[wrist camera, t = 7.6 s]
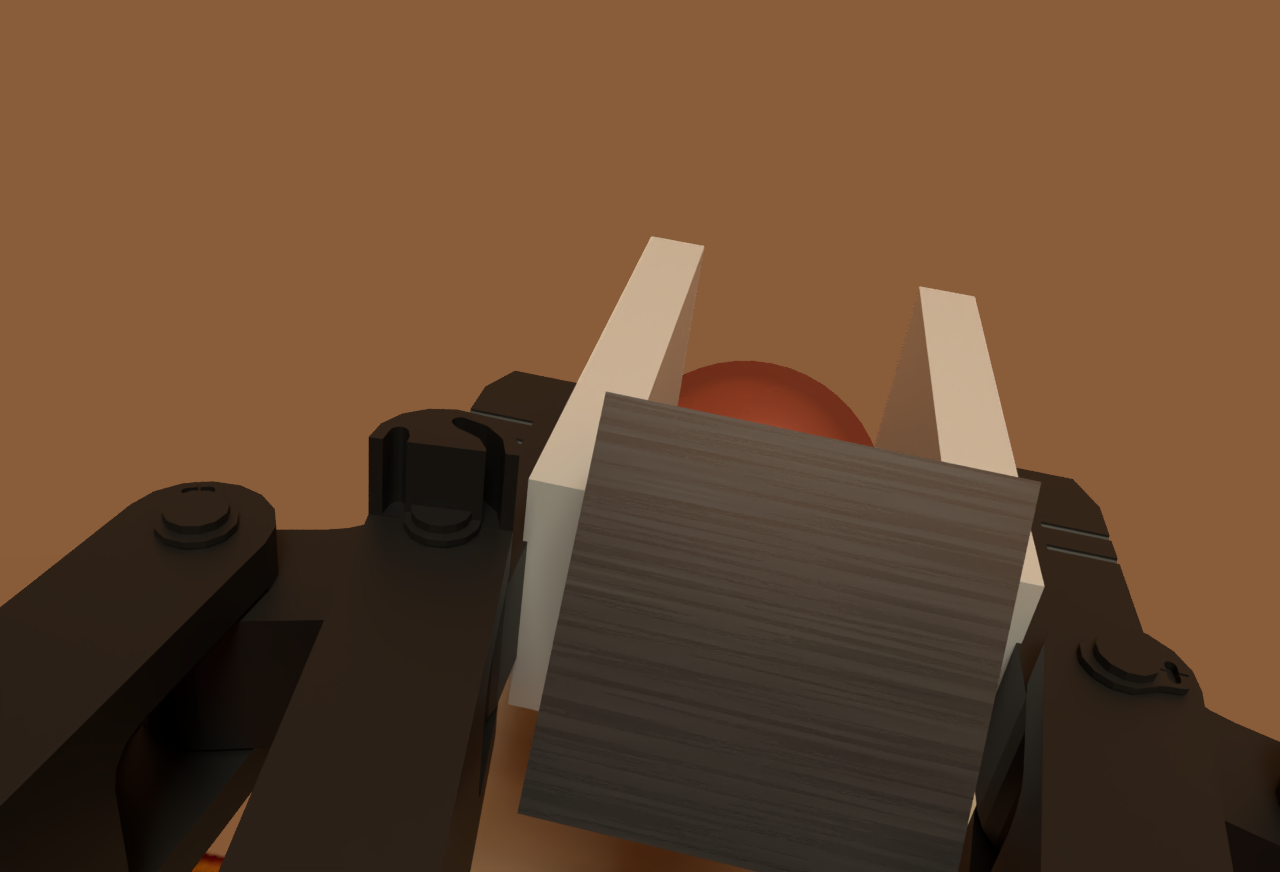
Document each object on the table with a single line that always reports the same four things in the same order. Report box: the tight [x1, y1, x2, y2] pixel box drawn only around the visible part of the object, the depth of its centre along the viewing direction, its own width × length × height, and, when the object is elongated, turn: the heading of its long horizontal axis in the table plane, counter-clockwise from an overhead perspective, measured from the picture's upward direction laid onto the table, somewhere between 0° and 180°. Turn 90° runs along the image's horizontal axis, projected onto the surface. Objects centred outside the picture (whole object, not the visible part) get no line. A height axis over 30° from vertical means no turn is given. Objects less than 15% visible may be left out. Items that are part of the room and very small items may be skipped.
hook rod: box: [517, 361, 1041, 872], centre depth 18 cm, size 7×22×7 cm, turn 174°
